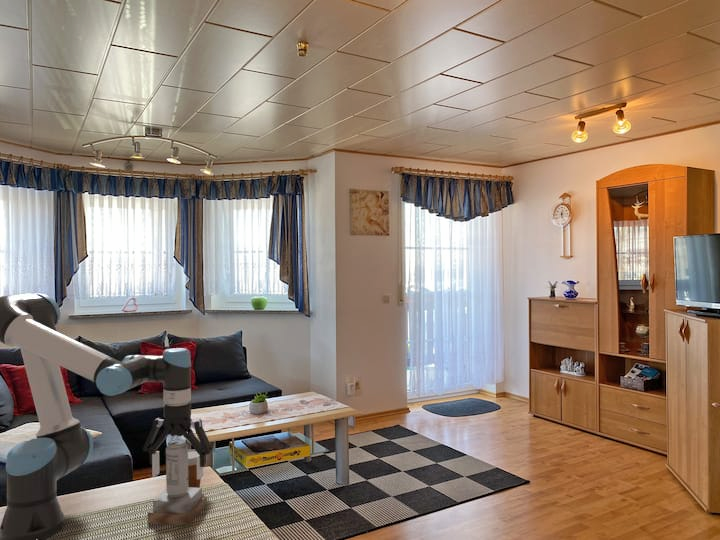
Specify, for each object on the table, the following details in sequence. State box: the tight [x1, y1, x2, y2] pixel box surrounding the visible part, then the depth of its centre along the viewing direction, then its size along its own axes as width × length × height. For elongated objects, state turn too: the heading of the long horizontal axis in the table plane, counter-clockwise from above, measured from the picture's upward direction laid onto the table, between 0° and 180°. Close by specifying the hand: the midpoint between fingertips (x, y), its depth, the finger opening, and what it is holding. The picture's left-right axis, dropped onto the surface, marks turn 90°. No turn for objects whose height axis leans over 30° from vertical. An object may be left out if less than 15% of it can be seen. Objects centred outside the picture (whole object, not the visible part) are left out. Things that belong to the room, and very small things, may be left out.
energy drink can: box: [165, 439, 189, 497], centre depth 160 cm, size 6×6×15 cm
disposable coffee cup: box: [188, 449, 202, 488], centre depth 176 cm, size 10×10×12 cm
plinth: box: [147, 487, 207, 526], centre depth 160 cm, size 12×12×6 cm
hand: (177, 476), depth 160 cm, fingers open, 13 cm apart
